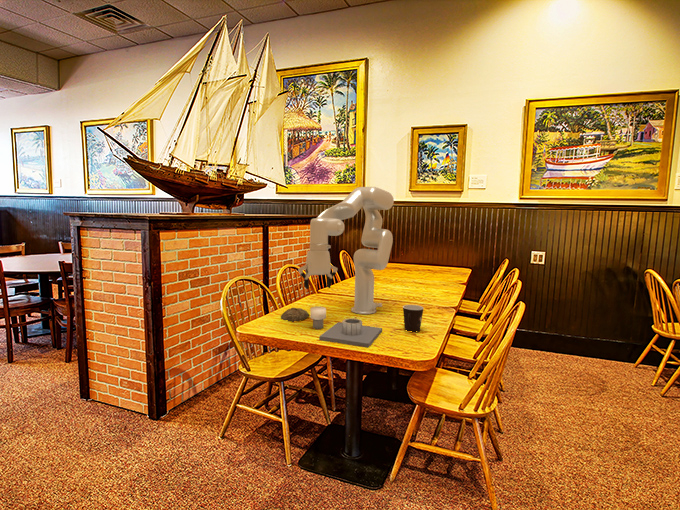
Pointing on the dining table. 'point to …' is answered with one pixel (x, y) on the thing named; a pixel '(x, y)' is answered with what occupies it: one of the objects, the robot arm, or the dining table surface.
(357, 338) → the square plate with socket
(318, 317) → the plug
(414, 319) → the coffee mug
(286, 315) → the seeded bread roll
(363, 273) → the robot arm
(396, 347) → the dining table surface
